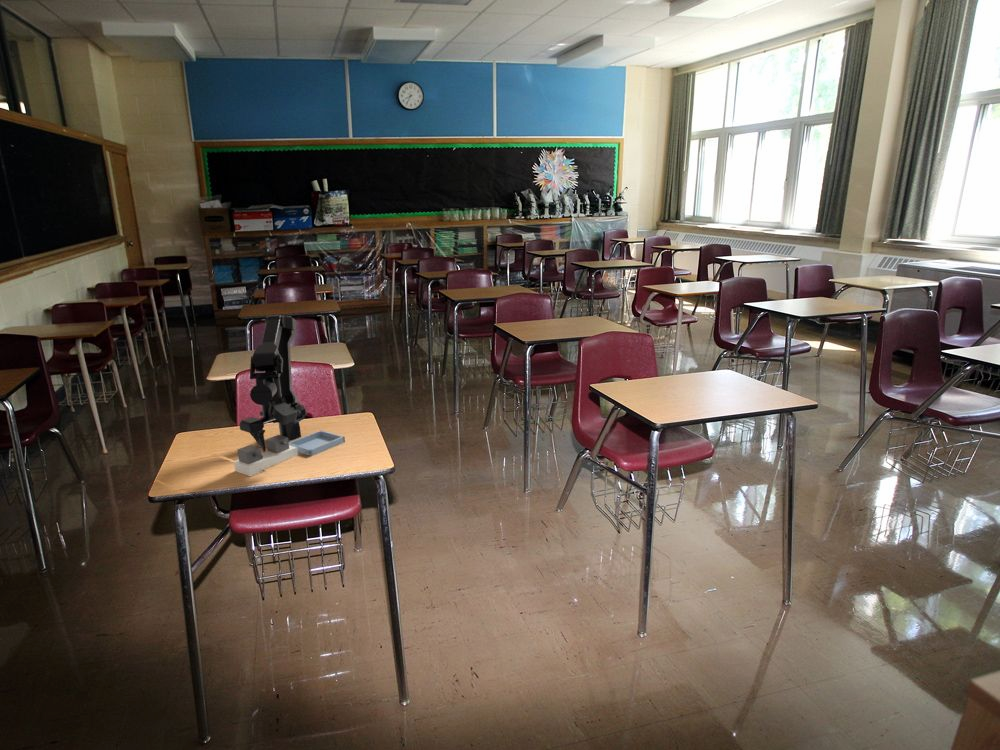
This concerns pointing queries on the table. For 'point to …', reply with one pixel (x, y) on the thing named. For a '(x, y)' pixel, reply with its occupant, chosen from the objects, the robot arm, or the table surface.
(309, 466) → the table surface
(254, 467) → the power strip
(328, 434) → the tray
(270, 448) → the grey block with knob
